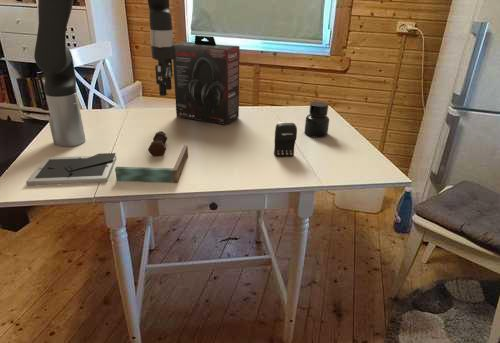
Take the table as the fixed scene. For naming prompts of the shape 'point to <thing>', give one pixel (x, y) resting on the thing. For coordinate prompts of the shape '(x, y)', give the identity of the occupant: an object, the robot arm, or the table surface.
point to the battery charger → (285, 139)
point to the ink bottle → (317, 120)
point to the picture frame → (73, 170)
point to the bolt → (158, 145)
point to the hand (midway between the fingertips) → (165, 92)
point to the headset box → (206, 80)
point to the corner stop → (154, 171)
